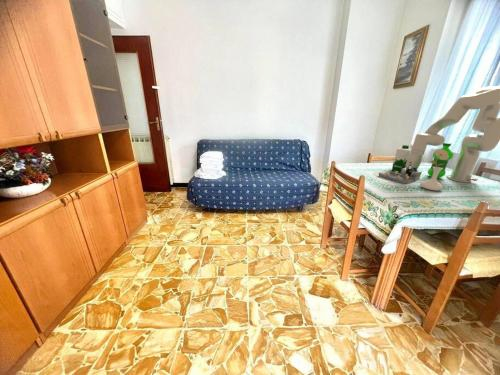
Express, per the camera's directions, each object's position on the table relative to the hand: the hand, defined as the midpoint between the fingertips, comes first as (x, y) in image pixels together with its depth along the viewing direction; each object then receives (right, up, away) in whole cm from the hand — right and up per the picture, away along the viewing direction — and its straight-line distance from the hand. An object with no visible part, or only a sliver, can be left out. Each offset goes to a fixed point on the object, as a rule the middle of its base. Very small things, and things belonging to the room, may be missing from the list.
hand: (409, 175), depth 151 cm
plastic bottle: (+19, -1, +1) cm, 19 cm away
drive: (0, -1, 0) cm, 1 cm away
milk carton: (+2, +5, +14) cm, 15 cm away
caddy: (-12, -2, -3) cm, 13 cm away
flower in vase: (-3, -9, -19) cm, 22 cm away
